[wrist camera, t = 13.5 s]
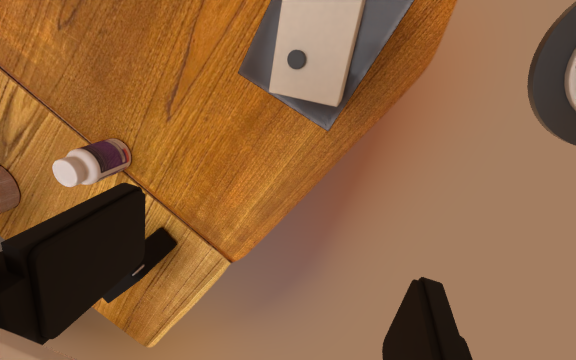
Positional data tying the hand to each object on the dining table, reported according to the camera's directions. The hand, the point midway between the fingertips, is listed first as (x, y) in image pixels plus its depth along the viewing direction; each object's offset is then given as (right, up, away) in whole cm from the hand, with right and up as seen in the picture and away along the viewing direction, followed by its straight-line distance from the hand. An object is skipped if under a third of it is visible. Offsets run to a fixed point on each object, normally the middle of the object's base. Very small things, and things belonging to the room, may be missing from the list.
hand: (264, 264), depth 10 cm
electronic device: (-23, -9, +45) cm, 52 cm away
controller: (+3, +14, +12) cm, 19 cm away
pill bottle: (-27, +7, +40) cm, 49 cm away
